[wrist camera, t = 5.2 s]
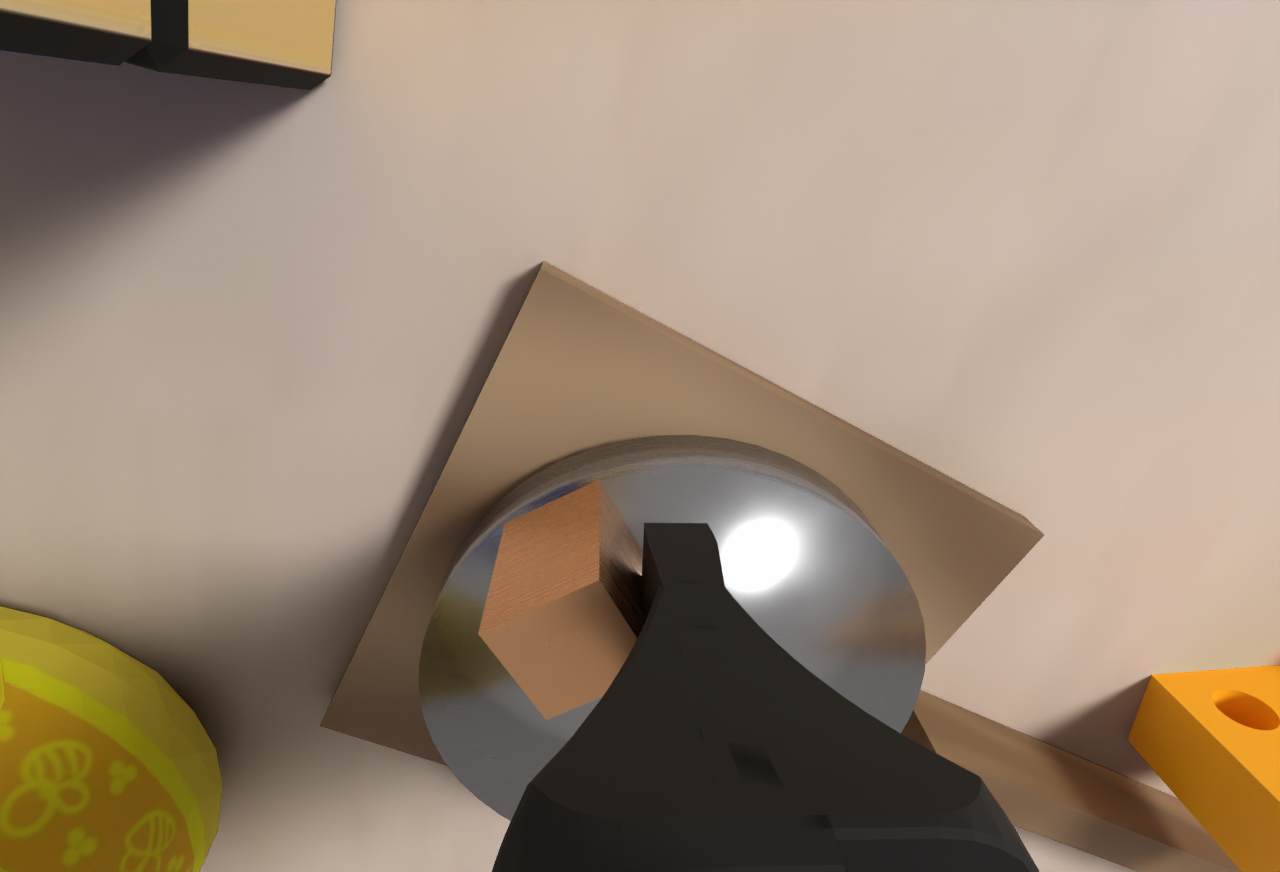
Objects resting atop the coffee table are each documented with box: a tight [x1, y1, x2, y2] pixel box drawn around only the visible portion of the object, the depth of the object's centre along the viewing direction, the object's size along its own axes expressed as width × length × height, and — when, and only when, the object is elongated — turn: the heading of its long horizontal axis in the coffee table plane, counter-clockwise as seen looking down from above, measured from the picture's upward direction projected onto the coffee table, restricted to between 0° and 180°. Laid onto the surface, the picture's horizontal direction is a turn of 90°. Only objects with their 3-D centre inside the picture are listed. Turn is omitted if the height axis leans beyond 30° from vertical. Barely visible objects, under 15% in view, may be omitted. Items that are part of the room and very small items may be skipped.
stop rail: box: [901, 690, 1242, 872], centre depth 20 cm, size 1×22×2 cm, turn 61°
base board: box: [320, 261, 1044, 765], centre depth 17 cm, size 13×13×1 cm
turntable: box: [419, 435, 926, 820], centre depth 14 cm, size 11×11×5 cm
